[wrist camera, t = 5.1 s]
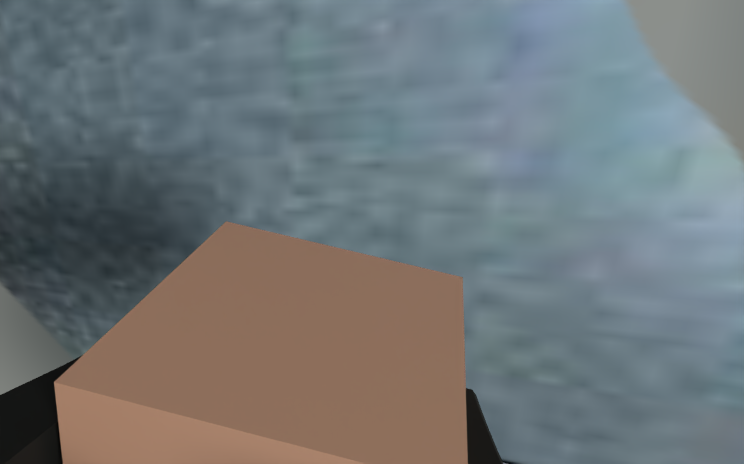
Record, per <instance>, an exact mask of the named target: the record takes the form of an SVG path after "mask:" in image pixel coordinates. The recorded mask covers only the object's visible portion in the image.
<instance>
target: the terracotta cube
mask: <svg viewBox="0 0 744 464" xmlns="http://www.w3.org/2000/svg"><path fill="white" fill-rule="evenodd" d="M54 387H55V396H56V405H57V414H58V423H59V433H60V442H61V451H62V460H63V464H468V453H467V418H466V382H465V347H464V311H463V277H459V276H455V275H451V274H446V273H442V272H438V271H434V270H429V269H425V268H421V267H417V266H412V265H408V264H404V263H400V262H395V261H391V260H387V259H383V258H378V257H374V256H370V255H366V254H362V253H357V252H353V251H349V250H345V249H340V248H336V247H332V246H328V245H323V244H319V243H315V242H311V241H306V240H302V239H298V238H294V237H290V236H285V235H281V234H277V233H273V232H268V231H264V230H260V229H256V228H251V227H247V226H243V225H239V224H234V223H230V222H225V223H224V224H223V225H222V226H221V227H220V228H219V229H218V230H217V231H215V232H214V233H213V234H212V235H211V236H210V237H209V238H208V239H207V240H206V241H205V242H204V243H203V244H202V245H200V246H199V247H198V248H197V249H196V250H195V251H194V252H193V253H192V254H191V255H190V256H189V257H188V258H187V259H185V260H184V261H183V262H182V263H181V264H180V265H179V266H178V267H177V268H176V269H175V270H174V271H173V272H172V273H170V274H169V275H168V276H167V277H166V278H165V279H164V280H163V281H162V282H161V283H160V284H159V285H158V286H157V287H155V288H154V289H153V290H152V291H151V292H150V293H149V294H148V295H147V296H146V297H145V298H144V299H143V300H142V301H140V302H139V303H138V304H137V305H136V306H135V307H134V308H133V309H132V310H131V311H130V312H129V313H128V314H127V315H125V316H124V317H123V318H122V319H121V320H120V321H119V322H118V323H117V324H116V325H115V326H114V327H113V328H112V329H110V330H109V331H108V332H107V333H106V334H105V335H104V336H103V337H102V338H101V339H100V340H99V341H98V342H97V343H95V344H94V345H93V346H92V347H91V348H90V349H89V350H88V351H87V352H86V353H85V354H84V355H83V356H82V357H80V358H79V359H78V360H77V361H76V362H75V363H74V364H73V365H72V366H71V367H70V368H69V369H68V370H67V371H65V372H64V373H63V374H62V375H61V376H60V377H59V378H58V379H57V380H56V381H55V382H54Z"/></svg>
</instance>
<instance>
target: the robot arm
mask: <svg viewBox="0 0 744 464" xmlns="http://www.w3.org/2000/svg"><path fill="white" fill-rule="evenodd" d="M82 356H83V355H82ZM82 356H80V357H82ZM80 357H78V358H76V359H75V360H73V361H71V362H69V363H67V364H65V365H63V366H61V367H59V368H57V369H55V370H53V371H50V372H48V373H46V374H44V375H42V376H40V377H38V378H36V379H33V380H32V381H30V382H27V383H25V384H23V385H21V386H19V387H16V388H14V389H12V390H10V391H8V392H6V393H4V394H2V395H0V464H63V460H62V451H61V442H60V433H59V423H58V414H57V405H56V396H55V387H54V382H55V381H56V380H57V379H58V378H59V377H60V376H61V375H62V374H63V373H64V372H65V371H67V370H68V369H69V368H70V367H71V366H72V365H73V364H74V363H75V362H76V361H77V360H78V359H79V358H80ZM466 418H467V453H468V464H507V463H503V462H502V460H501V457H500V455H499V453H498V451H497V448H496V446H495V443H494V441H493V439H492V436H491V434H490V431H489V429H488V426H487V424H486V421H485V418H484V416H483V413H482V410H481V408H480V405H479V402H478V399H477V397H476V395H475V393H474V392H473V390H471V389H467V388H466Z"/></svg>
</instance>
